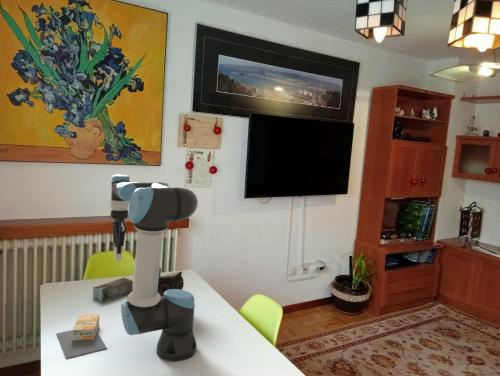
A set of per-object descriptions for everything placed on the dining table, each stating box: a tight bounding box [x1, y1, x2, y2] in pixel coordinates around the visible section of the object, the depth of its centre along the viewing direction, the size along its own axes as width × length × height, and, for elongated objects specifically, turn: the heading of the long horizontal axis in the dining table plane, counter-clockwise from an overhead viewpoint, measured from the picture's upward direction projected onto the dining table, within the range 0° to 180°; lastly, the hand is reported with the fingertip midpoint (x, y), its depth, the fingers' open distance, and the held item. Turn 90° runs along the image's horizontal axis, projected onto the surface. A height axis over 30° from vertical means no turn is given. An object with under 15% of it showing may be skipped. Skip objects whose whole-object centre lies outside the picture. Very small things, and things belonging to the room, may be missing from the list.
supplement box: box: [71, 314, 100, 341], centre depth 152 cm, size 8×5×13 cm
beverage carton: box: [92, 277, 133, 303], centre depth 192 cm, size 8×19×7 cm, turn 148°
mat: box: [56, 329, 108, 360], centre depth 147 cm, size 20×14×1 cm
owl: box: [157, 270, 185, 297], centre depth 174 cm, size 13×13×20 cm
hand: (117, 259), depth 172 cm, fingers closed
